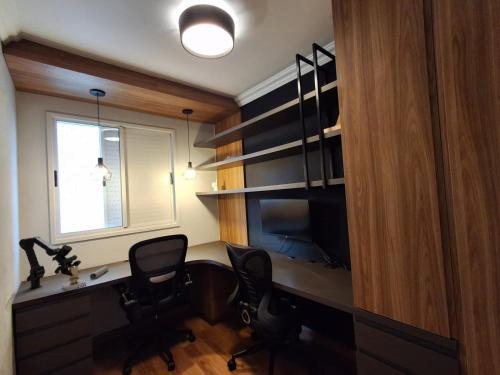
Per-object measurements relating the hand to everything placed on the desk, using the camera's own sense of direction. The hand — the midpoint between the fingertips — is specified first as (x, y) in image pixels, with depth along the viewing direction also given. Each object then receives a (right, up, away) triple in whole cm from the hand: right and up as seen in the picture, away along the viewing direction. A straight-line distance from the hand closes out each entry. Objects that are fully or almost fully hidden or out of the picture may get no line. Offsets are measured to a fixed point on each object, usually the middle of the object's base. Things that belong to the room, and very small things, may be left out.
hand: (75, 274), depth 182 cm
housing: (-1, -9, 0) cm, 9 cm away
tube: (+1, -11, +29) cm, 31 cm away
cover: (-1, -7, 0) cm, 7 cm away
